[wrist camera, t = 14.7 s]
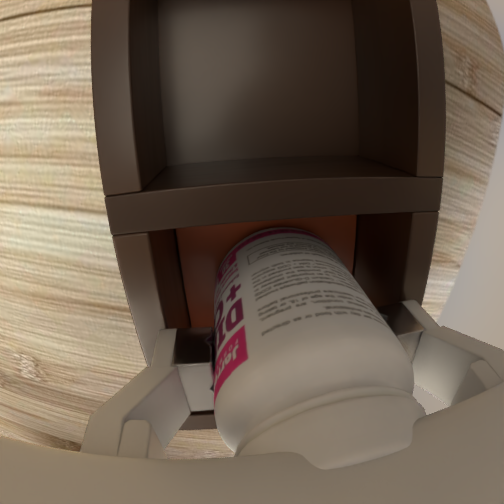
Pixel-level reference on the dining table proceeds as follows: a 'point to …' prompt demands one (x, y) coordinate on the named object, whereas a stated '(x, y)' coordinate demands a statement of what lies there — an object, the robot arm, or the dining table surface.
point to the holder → (266, 142)
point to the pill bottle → (305, 356)
